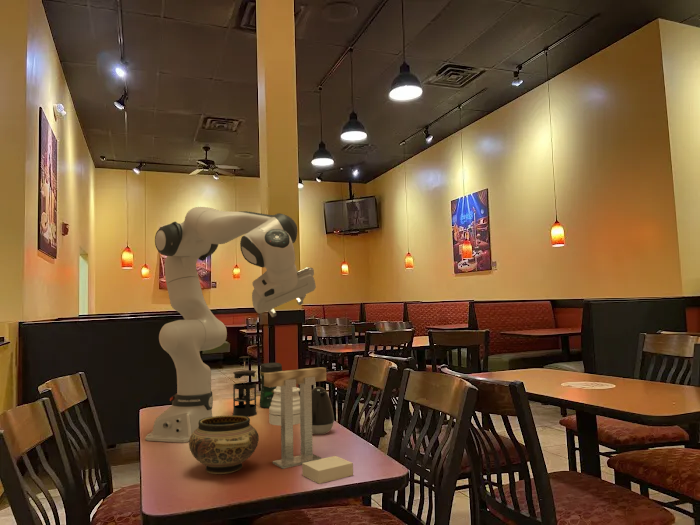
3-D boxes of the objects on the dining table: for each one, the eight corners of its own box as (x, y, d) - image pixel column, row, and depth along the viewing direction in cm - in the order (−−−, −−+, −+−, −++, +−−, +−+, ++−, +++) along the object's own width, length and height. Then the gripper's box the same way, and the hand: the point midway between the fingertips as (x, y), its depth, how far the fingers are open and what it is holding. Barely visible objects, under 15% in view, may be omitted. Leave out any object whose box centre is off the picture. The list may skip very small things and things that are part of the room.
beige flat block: (318, 483, 123) (318, 470, 124) (302, 475, 130) (302, 463, 130) (353, 475, 129) (352, 462, 129) (335, 467, 136) (335, 455, 136)
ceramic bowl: (260, 489, 128) (274, 428, 131) (189, 482, 121) (205, 418, 124) (238, 464, 150) (251, 411, 153) (177, 456, 143) (191, 402, 146)
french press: (260, 415, 203) (259, 356, 205) (236, 418, 199) (236, 358, 201) (251, 410, 214) (251, 354, 216) (229, 413, 210) (229, 356, 212)
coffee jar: (262, 409, 216) (262, 364, 218) (258, 406, 223) (257, 362, 225) (285, 406, 220) (284, 362, 222) (279, 403, 227) (279, 361, 229)
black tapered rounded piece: (311, 438, 167) (310, 390, 168) (299, 431, 176) (298, 386, 177) (339, 433, 171) (338, 387, 173) (326, 427, 181) (325, 383, 182)
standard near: (282, 468, 136) (281, 381, 138) (272, 463, 141) (271, 378, 142) (302, 464, 139) (301, 378, 141) (292, 459, 144) (290, 376, 146)
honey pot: (310, 421, 191) (309, 372, 192) (279, 427, 183) (279, 375, 184) (292, 416, 201) (291, 369, 202) (262, 421, 193) (262, 372, 195)
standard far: (302, 464, 139) (301, 378, 141) (292, 459, 144) (290, 376, 146) (321, 460, 142) (320, 376, 144) (310, 455, 147) (309, 374, 149)
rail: (268, 387, 137) (268, 373, 137) (264, 386, 139) (263, 372, 140) (326, 380, 147) (326, 368, 147) (320, 379, 150) (320, 367, 150)
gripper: (308, 259, 160) (311, 290, 169) (247, 284, 152) (253, 315, 161) (318, 271, 156) (320, 302, 165) (255, 297, 148) (261, 328, 157)
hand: (286, 309), depth 163 cm, fingers open, 8 cm apart
